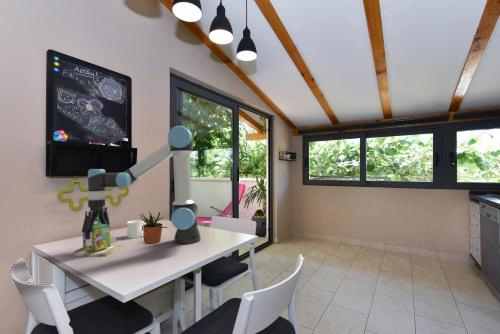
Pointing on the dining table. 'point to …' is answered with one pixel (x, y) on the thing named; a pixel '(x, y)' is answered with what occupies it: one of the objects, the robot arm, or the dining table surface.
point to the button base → (112, 239)
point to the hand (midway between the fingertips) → (96, 242)
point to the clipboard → (96, 252)
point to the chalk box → (98, 237)
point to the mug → (135, 229)
